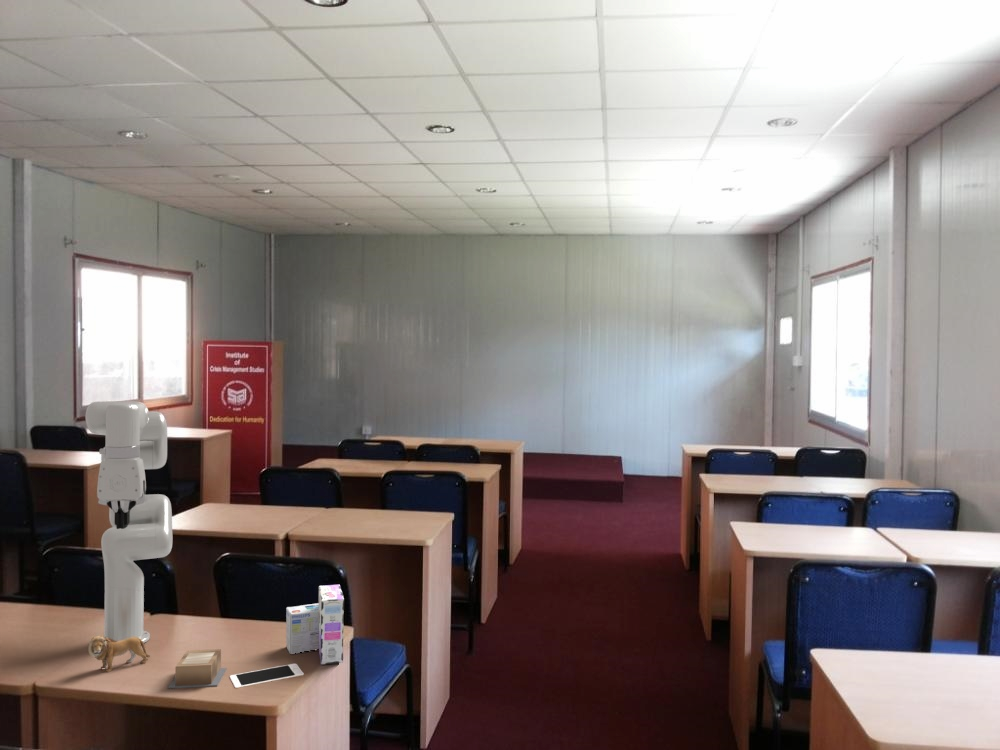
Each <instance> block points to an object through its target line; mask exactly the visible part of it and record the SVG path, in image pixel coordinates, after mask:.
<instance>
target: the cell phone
mask: <svg viewBox="0 0 1000 750" xmlns="http://www.w3.org/2000/svg"><path fill="white" fill-rule="evenodd" d="M301 676H304V672H303V670H301V668H300V666H299V665H298V664H297V663H290V664H285V665H277V666H274V667H268V668H263V669H259V670H252V671H248V672H242V673H236V674H230V676H229V679H230V680H231V682H232V685H233V687H234V688H235V689H239V688H245V687H250V686H255V685H261V684H266V683H271V681H272V682H276V681H282V680H286V679H291V678H295V677H301Z"/></svg>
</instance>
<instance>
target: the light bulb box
mask: <svg viewBox="0 0 1000 750" xmlns="http://www.w3.org/2000/svg"><path fill="white" fill-rule="evenodd" d="M285 609H286V610H285V611H286V612H285V613H286V615H285V617H286V619H285V620H286V623H285V624H286V626H285V627H286V628H285V629H286V630H285V631H286V636H285V638H286V641H285V642H286V648H287V651H288V653H289V655H290V654H291V655H296V654H301V653H300V652H302V653H305V652H304V651H309V652H311V651H310V650H315V649H319V602H317V603H312V604H303V605H302V604H301V605H296V606H287V607H286V608H285ZM315 651H316V650H315ZM295 653H296V654H295Z"/></svg>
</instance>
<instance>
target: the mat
mask: <svg viewBox="0 0 1000 750" xmlns="http://www.w3.org/2000/svg"><path fill="white" fill-rule="evenodd" d="M226 671H227V667H221V668H220V670H219V671H218V673H217V675H216V677H215V678H214V680H213V682H212V684H202V685H182V686H175V677H174V678H172V679H173V680H172V681H171V682H170V684H169V685H168V686H167V689H169V688H170V689H187V688H189V689H190V688H204V687H205V688H207V687H218V686H219V684H220V682H221V680H222V679H223V676H224V674H225V673H226ZM170 689H169V690H170Z"/></svg>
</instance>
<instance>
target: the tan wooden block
mask: <svg viewBox="0 0 1000 750" xmlns="http://www.w3.org/2000/svg"><path fill="white" fill-rule="evenodd" d="M220 668H222V649H221V648H220V649H219V648H218V649H217V648H216V649H215V648H214V649H197V650H196V649H195V650H186V652H185V653H184V654H183V656H182V657H181V658H180V660H179V661H178V663H177V664H176V665H175V668H174V669H175V672H174V673H175V676H174V678H175V686H182V685H202V684H212V682H213V680H214V678H215V677H216V675H217V673H218V671H219V670H220Z"/></svg>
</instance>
